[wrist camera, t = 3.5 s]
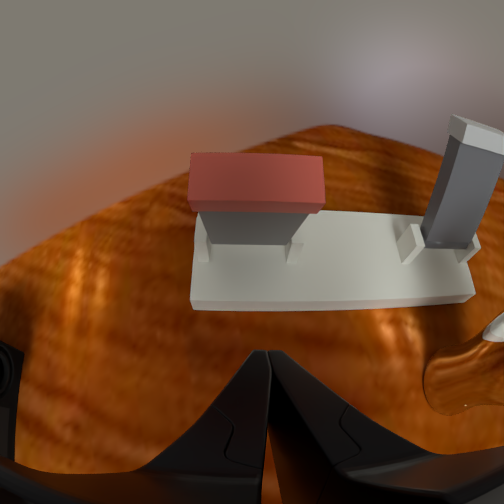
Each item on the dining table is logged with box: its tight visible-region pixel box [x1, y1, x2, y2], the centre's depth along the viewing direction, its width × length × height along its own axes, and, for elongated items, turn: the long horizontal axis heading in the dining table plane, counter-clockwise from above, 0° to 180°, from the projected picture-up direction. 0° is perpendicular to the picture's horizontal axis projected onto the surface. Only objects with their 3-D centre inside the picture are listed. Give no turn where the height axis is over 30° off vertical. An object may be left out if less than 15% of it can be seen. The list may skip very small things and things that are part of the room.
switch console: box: [190, 210, 481, 311], centre depth 24 cm, size 8×24×5 cm, turn 90°
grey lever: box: [420, 114, 504, 249], centre depth 19 cm, size 2×5×11 cm, turn 90°
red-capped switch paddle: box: [187, 153, 326, 245], centre depth 17 cm, size 2×5×11 cm, turn 91°
